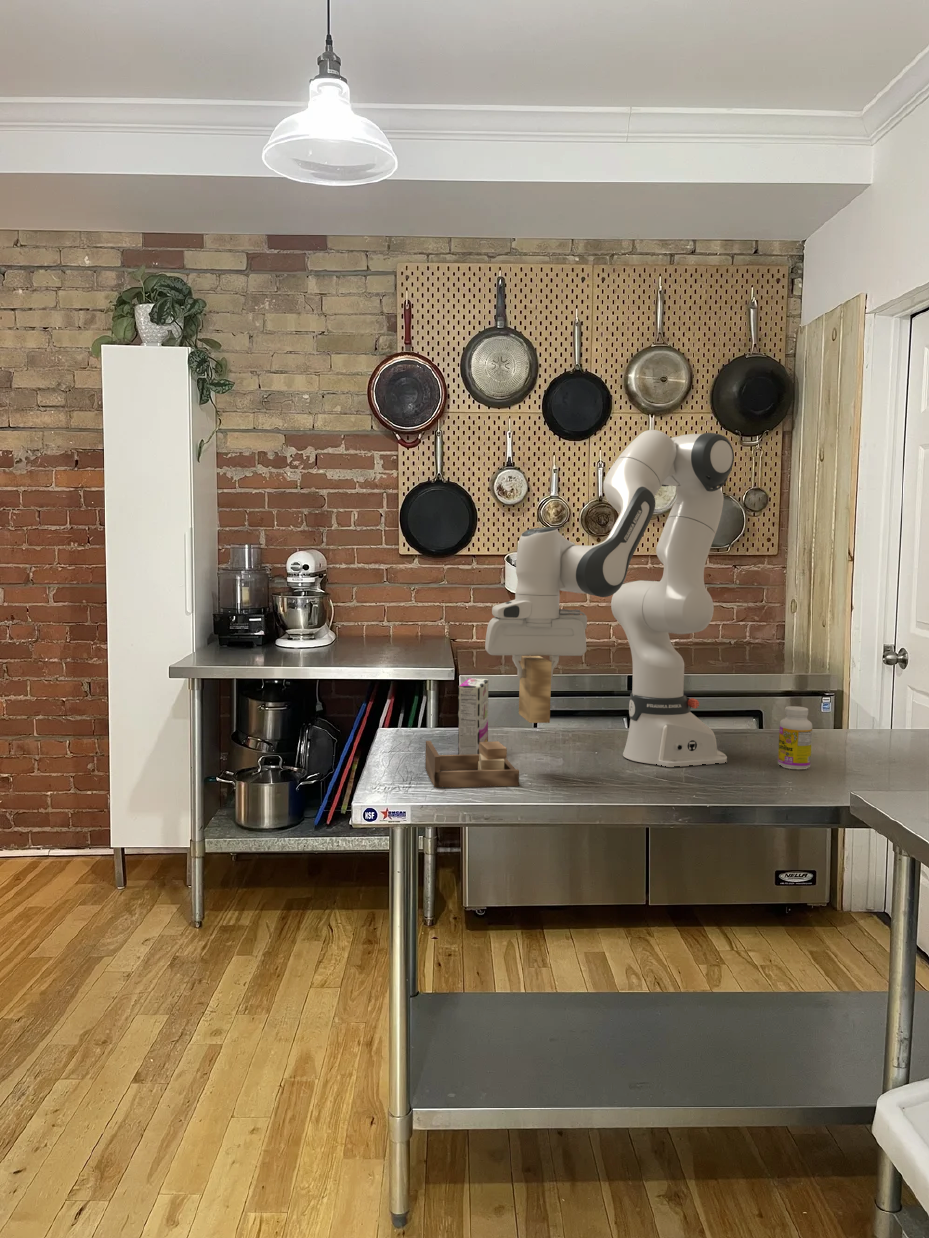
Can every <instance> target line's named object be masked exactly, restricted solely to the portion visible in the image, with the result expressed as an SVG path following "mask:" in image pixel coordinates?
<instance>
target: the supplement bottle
mask: <svg viewBox="0 0 929 1238" xmlns="http://www.w3.org/2000/svg"><path fill="white" fill-rule="evenodd" d="M784 713H785V717H784V718H782V719H781V720H780V721H779V732H778V733H779V734H778V735H779V736H778V753H777V765H778V764H779V765H781V766H785V767H791V768H806V767H811V761H812V760H811V759H812V758H811V757H812V739H813V723H812V721H810V720H809V719H808V715H809V708H807V707H804V706H791V705H789V706H786V707H785V708H784ZM779 765H778V766H779Z"/></svg>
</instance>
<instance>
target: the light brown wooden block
mask: <svg viewBox="0 0 929 1238" xmlns="http://www.w3.org/2000/svg"><path fill="white" fill-rule="evenodd" d="M519 663H520V665H521V667H522V668H525V669H526V678H519V691H518V692H519V694H518V715H519V716H521V718H524V720H526V721H527V722H528V723H529V724H536V723H537V724H542V723H543V724H544V723H545V724H549V723H550V722H551V696H552V695H551V694H552V693H551V691H552V678H551V665H552V660H550V659H547V658H546V657H545V658H544V657H542V656H541V655H521V661H519Z"/></svg>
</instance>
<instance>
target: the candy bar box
mask: <svg viewBox="0 0 929 1238" xmlns="http://www.w3.org/2000/svg"><path fill="white" fill-rule="evenodd" d="M457 703H458V707H457V708H458V713H457V715H458V716H457V717H458V720H457V721H458V726H457V727H458V732H457V733H458V734H457V735H458V736H457V737H458V738H457V739H458V741H457V742H458V743H457V745H458V748H457V749H458V750H457V753H458V754H457V755H467V754H479V742H489V678H488V679H487V678H479V677H478V678H475V677H473V678H471V677H470V678H467V679H466V680H465V681H463V682H461V684H460V685H458V702H457Z"/></svg>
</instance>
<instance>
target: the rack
mask: <svg viewBox="0 0 929 1238" xmlns="http://www.w3.org/2000/svg"><path fill="white" fill-rule="evenodd" d="M424 759H425V761H424V762H425V767H424V768H425V769H426V770H425V771H427V772H426V774H427V776H428V778H429V780H430V782H431V784H432V783H433V784H432V786H433V785H434V786H433V788H434V787H447V788H475V787H476V788H479V787H481V788H483V787H517V786H518V787H519V785H520V770H519V769H518V768H515V767H514V765H513V764H512V763H511V762H510V761H509V760H508V758H504V770H478V761H479V754H467V755H458V754H439V752H438V751H437V749H436V747H435V746H434V744H433V743H432V740H426V741H425V758H424Z"/></svg>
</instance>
